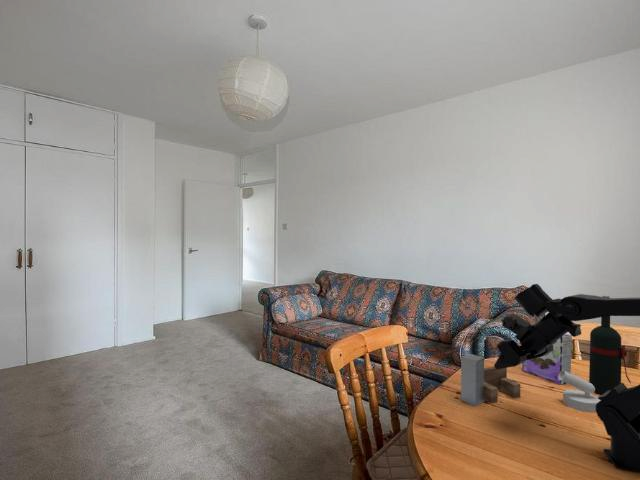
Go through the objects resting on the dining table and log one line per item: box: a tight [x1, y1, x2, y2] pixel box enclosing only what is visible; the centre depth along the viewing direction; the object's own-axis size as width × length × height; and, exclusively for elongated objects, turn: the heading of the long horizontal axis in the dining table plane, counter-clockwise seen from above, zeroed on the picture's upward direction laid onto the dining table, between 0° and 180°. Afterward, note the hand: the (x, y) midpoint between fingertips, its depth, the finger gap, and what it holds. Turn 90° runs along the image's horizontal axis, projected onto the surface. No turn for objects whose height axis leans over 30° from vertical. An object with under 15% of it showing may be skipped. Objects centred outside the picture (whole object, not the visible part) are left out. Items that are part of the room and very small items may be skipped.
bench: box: [484, 366, 521, 404], centre depth 108 cm, size 8×14×7 cm, turn 110°
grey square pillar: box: [460, 353, 485, 407], centre depth 104 cm, size 4×4×13 cm
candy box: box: [521, 332, 573, 385], centre depth 123 cm, size 14×6×16 cm, turn 25°
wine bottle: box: [588, 295, 632, 396], centre depth 110 cm, size 8×10×30 cm
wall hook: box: [558, 370, 601, 413], centre depth 102 cm, size 9×10×10 cm
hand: (504, 364), depth 98 cm, fingers open, 9 cm apart
